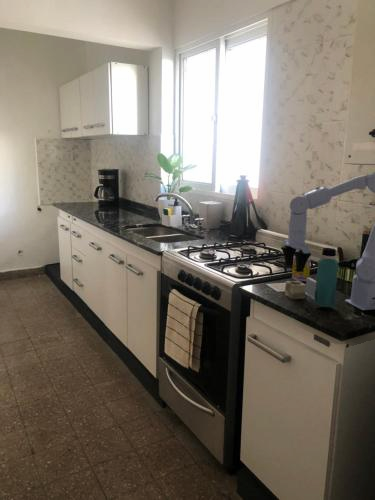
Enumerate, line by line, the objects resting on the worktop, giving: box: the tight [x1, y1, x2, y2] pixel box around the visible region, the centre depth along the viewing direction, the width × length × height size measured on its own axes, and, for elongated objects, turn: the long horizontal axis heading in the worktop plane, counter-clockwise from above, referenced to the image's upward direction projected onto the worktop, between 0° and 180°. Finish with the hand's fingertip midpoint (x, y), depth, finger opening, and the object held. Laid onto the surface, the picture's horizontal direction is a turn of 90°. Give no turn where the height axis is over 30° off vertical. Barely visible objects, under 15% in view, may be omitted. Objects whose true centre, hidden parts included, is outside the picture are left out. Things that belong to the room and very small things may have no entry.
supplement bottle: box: [291, 250, 312, 282], centre depth 168 cm, size 7×7×13 cm
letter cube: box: [284, 280, 306, 300], centre depth 148 cm, size 5×5×5 cm
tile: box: [265, 282, 286, 293], centre depth 158 cm, size 9×9×1 cm
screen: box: [305, 277, 316, 302], centre depth 148 cm, size 8×3×6 cm, turn 16°
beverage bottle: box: [313, 247, 339, 308], centre depth 135 cm, size 6×7×20 cm
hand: (294, 268), depth 149 cm, fingers open, 7 cm apart
